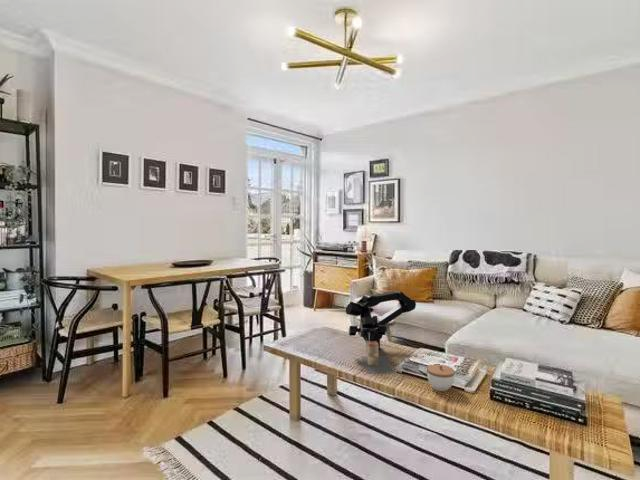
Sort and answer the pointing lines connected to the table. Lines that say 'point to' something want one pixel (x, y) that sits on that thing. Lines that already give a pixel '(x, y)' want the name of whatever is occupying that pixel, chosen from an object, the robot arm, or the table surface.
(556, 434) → the table surface
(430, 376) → the lidded jar
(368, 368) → the rubber mat
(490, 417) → the table surface
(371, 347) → the tan long rectangular block
